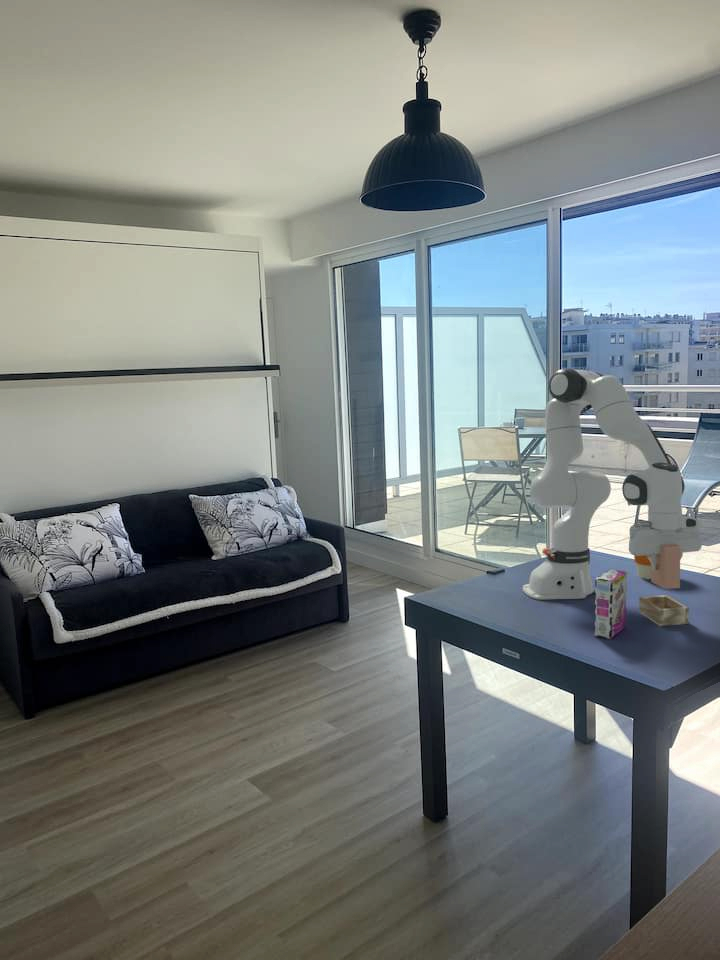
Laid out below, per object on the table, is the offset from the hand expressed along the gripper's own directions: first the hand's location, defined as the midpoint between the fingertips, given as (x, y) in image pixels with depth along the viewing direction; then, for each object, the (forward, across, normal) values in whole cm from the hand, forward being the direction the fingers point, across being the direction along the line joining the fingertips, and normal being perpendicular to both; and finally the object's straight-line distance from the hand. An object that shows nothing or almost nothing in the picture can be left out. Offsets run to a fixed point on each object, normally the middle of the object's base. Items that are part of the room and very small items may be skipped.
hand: (664, 568), depth 207 cm
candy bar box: (+15, -19, -6) cm, 25 cm away
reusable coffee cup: (+14, +17, +40) cm, 45 cm away
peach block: (+5, 0, 0) cm, 5 cm away
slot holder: (+15, 0, +1) cm, 15 cm away
